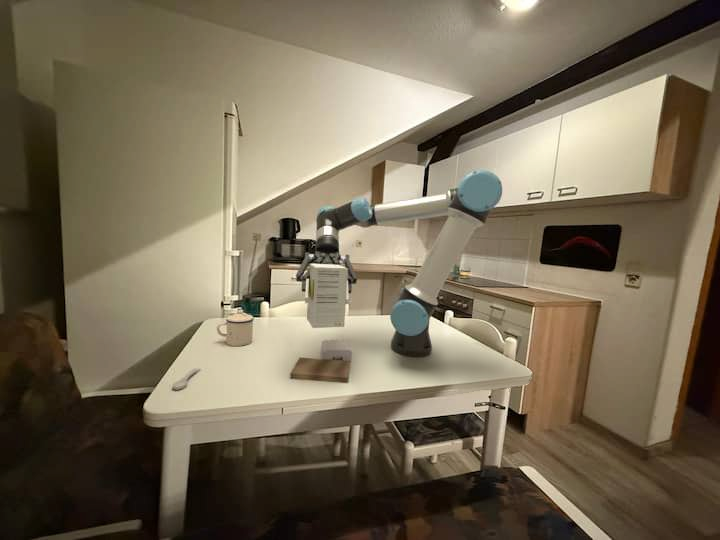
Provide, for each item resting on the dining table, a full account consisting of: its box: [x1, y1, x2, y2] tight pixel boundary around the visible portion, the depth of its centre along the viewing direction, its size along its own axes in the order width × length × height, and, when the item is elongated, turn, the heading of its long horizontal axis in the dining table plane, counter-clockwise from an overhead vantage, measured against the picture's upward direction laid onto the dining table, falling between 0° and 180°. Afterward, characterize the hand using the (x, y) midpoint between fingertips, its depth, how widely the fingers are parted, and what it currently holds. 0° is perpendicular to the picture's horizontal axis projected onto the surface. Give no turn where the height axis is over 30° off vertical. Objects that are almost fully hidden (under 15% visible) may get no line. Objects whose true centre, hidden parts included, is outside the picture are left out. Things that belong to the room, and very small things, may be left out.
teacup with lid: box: [216, 309, 254, 347], centre depth 103 cm, size 12×9×12 cm
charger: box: [320, 339, 353, 364], centre depth 99 cm, size 5×9×15 cm
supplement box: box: [306, 263, 349, 329], centre depth 83 cm, size 10×9×17 cm
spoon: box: [172, 367, 201, 391], centre depth 76 cm, size 3×12×2 cm, turn 6°
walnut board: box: [289, 357, 351, 384], centre depth 86 cm, size 16×11×2 cm
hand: (326, 301), depth 81 cm, fingers closed on supplement box, 10 cm apart
